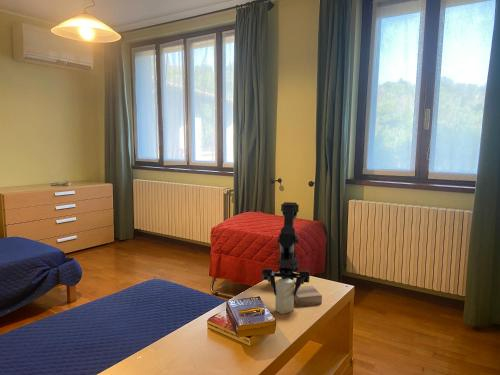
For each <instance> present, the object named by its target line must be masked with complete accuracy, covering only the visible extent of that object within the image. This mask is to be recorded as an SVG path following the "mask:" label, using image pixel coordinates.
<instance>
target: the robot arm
mask: <svg viewBox="0 0 500 375" xmlns="http://www.w3.org/2000/svg"><path fill="white" fill-rule="evenodd" d="M280 206H281V207H280V212H282V217H283V220H284V221H283V227H282V228H280V233H279V234H278V236H277V244H279V251H280V252H279V258H278V271H273V268H270V267H269V268H268V267H267V268H266V267H264V268H263V269H262V270H261V276H262V280H263V281H267V282H268V283H270V285H271V287H272V291H273V295H274V296H275V297H276V278H279V279H278V280H282V279H286V278H289V279H291V280H293V281H295V284H294V287H295V290H294V297H295V296H296V293H297V291H298V289H299V287H301V285H304V284H305V283H307V284H308V283H310V276H311V274H310V271H309V270H304V269H303V270H302V269H301V270H299V262H300V261H298V258H296V253H295V245H297V243H299V237H298V235H297V234H296V229H295V228H294V226H295V225H294V222H295V220H296V218H297V217H298V213H299V211H300V210H299V208H300V207H299V206H300V205H299V204H298V203H297V202H293V201H292V202H291V201H290V202H287V201H285V202H283V203H282V204H280ZM298 271H299V272H298Z"/></svg>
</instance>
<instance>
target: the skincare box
mask: <svg viewBox="0 0 500 375" xmlns="http://www.w3.org/2000/svg"><path fill="white" fill-rule="evenodd" d="M295 282H296V280H294V281H293V280H291V279H289V278H286V279H282V280H279V279H278V280H275V287H276V296H275V306H274V307H275V308H274V309H275V311H276V312H278V313H279V314H281V315H284V314H287V313H291V312H294V311H295V301H294V287H295Z"/></svg>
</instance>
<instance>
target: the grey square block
mask: <svg viewBox="0 0 500 375" xmlns="http://www.w3.org/2000/svg"><path fill="white" fill-rule="evenodd" d="M294 290H295V286H294ZM294 303H295V304H296V305H297V306H298V307H303V306H304V305H305V306H313V305H322V303H323V295H322V294H321V293H320V292H319V291H318V290H317V289H316V288H315V286H313V285H306V286H305V285H304V286H300V287H299V289H298V291H297V293H296V296H295V297H294Z"/></svg>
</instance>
